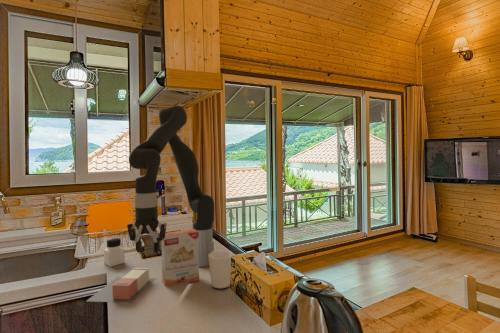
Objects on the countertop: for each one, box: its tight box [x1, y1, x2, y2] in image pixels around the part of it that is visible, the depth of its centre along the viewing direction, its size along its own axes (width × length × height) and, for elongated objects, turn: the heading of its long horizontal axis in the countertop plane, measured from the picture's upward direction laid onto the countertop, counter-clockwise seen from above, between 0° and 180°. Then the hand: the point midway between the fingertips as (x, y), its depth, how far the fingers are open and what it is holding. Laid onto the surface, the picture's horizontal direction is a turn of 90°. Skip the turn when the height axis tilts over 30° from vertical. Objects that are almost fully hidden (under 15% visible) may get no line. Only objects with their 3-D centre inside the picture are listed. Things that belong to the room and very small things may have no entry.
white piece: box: [86, 267, 157, 304], centre depth 112 cm, size 17×20×6 cm
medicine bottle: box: [103, 237, 126, 268], centre depth 142 cm, size 7×7×12 cm
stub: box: [112, 278, 137, 300], centre depth 106 cm, size 6×6×5 cm
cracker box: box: [161, 228, 200, 287], centre depth 118 cm, size 14×6×21 cm, turn 118°
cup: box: [208, 250, 234, 291], centre depth 115 cm, size 10×10×13 cm
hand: (147, 251), depth 104 cm, fingers open, 5 cm apart
